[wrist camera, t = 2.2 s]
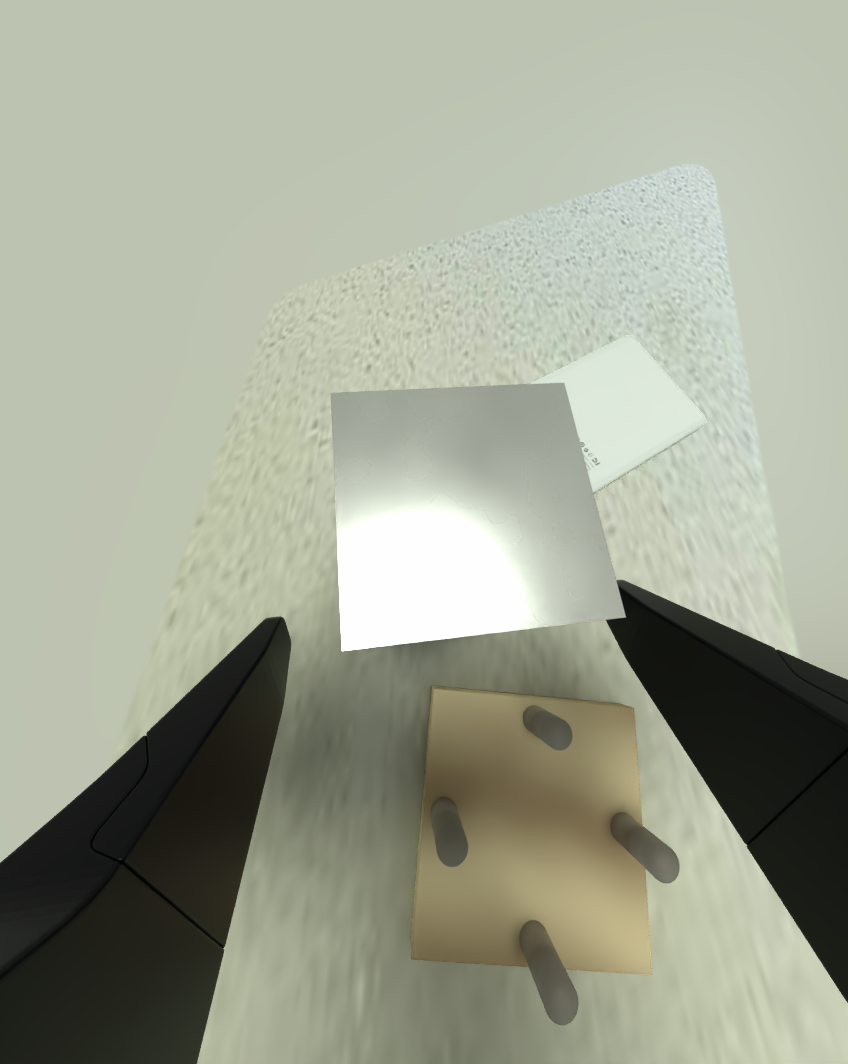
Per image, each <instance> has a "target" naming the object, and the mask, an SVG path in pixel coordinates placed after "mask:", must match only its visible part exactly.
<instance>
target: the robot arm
mask: <svg viewBox="0 0 848 1064" xmlns="http://www.w3.org/2000/svg"><path fill="white" fill-rule="evenodd" d="M616 581H617V585H618V589H619V593H620V597H621V600H622V604H623V608H624V612H625V616H626V617H625V618H616V619H608V620H606V621H607V623H608V625H609V627H610V629H611V631H612V633H613V635H614V637H615V639H616V641H617V643H618V645H619V647H620V649H621V650H622V652H623V654H624V656H625V658H626V659H627V661H628V663H629V664H630V666H631V668H632V669H633V671H634V672H635V674H636V675H637V677H638V678H639V680H640V682H641V683H642V685H643V686H644V688H645V689H646V691H647V692H648V694H649V696H650V697H651V699H652V700H653V702H654V703H655V705H656V706H657V708H658V709H659V711H660V713H661V714H662V716H663V717H664V719H665V720H666V722H667V723H668V725H669V727H670V728H671V730H672V731H673V733H674V734H675V736H676V737H677V739H678V740H679V742H680V744H681V745H682V747H683V748H684V750H685V751H686V753H687V754H688V756H689V758H690V759H691V761H692V762H693V764H694V765H695V767H696V768H697V770H698V772H699V773H700V775H701V776H702V778H703V779H704V781H705V782H706V784H707V785H708V787H709V789H710V790H711V792H712V793H713V795H714V796H715V798H716V799H717V801H718V803H719V804H720V806H721V807H722V809H723V810H724V812H725V813H726V815H727V817H728V818H729V820H730V821H731V823H732V824H733V826H734V827H735V829H736V830H737V832H738V834H739V835H740V837H741V838H742V840H743V841H744V843H745V844H747V848H748V850H749V851H750V853H751V854H752V856H753V857H754V859H755V860H756V862H757V863H758V865H759V867H760V868H761V870H762V871H763V873H764V874H765V876H766V877H767V879H768V881H769V882H770V884H771V885H772V887H773V888H774V890H775V891H776V893H777V895H778V896H779V898H780V899H781V901H782V902H783V904H784V905H785V907H786V908H787V910H788V912H789V913H790V915H791V916H792V918H793V919H794V921H795V922H796V924H797V926H798V927H799V929H800V930H801V932H802V933H803V935H804V936H805V938H806V940H807V941H808V943H809V944H810V946H811V947H812V949H813V950H814V952H815V954H816V955H817V957H818V958H819V960H820V961H821V963H822V964H823V966H824V968H825V969H826V971H827V972H828V974H829V975H830V977H831V978H832V980H833V981H834V983H835V985H836V986H837V988H838V989H839V991H840V992H841V994H842V995H843V997H844V998H845V1000H846V1001H847V1002H848V680H847V679H845V678H842V677H840V676H837V675H835V674H832V673H830V672H828V671H825V670H823V669H821V668H818V667H816V666H814V665H811V664H809V663H807V662H805V661H803V660H800V659H798V658H796V657H794V656H791V655H789V654H787V653H785V652H782V651H780V650H775V648H773V647H771V646H769V645H767V644H765V643H762V642H760V641H758V640H756V639H753V638H751V637H749V636H747V635H744V634H742V633H740V632H738V631H736V630H733V629H731V628H729V627H727V626H724V625H722V624H720V623H718V622H716V621H713V620H711V619H709V618H707V617H704V616H702V615H700V614H698V613H696V612H693V611H691V610H689V609H687V608H684V607H682V606H680V605H678V604H676V603H673V602H671V601H669V600H667V599H664V598H662V597H660V596H658V595H656V594H653V593H651V592H649V591H647V590H644V589H642V588H640V587H638V586H636V585H633V584H631V583H629V582H627V581H624V580H616ZM290 651H291V639H290V636H289V632H288V629H287V626H286V623H285V620H284V618H283V617H270V618H266V619H265V620H263V621H262V622H261V623H260V624H259V625H258V626H257V627H256V628H255V629H254V630H253V631H252V632H251V633H250V634H249V635H248V636H247V637H246V638H245V639H244V640H243V641H242V642H241V643H240V644H239V645H237V646H236V647H235V648H234V649H233V650H232V651H231V652H230V653H229V654H228V655H227V656H226V657H225V658H224V659H223V660H222V661H221V662H220V663H219V664H218V665H217V666H216V667H215V668H214V669H212V670H211V671H210V672H209V673H208V674H207V675H206V676H205V677H204V678H203V679H202V680H201V681H200V682H199V683H198V684H197V685H196V686H195V687H194V688H193V689H192V690H191V691H190V692H189V693H187V694H186V695H185V696H184V697H183V698H182V699H181V700H180V701H179V702H178V703H177V704H176V705H175V706H174V707H173V708H172V709H171V710H170V711H169V712H168V713H167V714H166V715H165V716H164V717H162V718H161V719H160V720H159V721H158V722H157V723H156V724H155V725H154V726H153V727H152V728H151V729H150V730H149V731H148V732H147V736H143V737H142V738H140V739H139V740H138V741H137V742H136V743H135V744H134V745H133V746H132V747H131V748H130V749H129V750H128V751H127V752H126V753H125V754H124V755H123V756H122V757H121V758H119V759H118V760H117V761H116V762H115V763H114V764H113V765H112V766H111V767H110V768H109V769H108V770H107V771H105V772H104V773H103V774H102V775H101V776H100V777H99V778H98V779H97V780H96V781H95V782H93V783H92V784H91V785H90V786H89V787H88V788H87V789H85V790H84V791H83V792H82V793H81V794H80V795H79V796H77V797H76V798H75V799H74V800H73V801H72V802H71V803H70V804H68V805H67V806H66V807H65V808H64V809H63V810H61V811H60V812H59V813H58V814H57V815H56V816H54V817H53V818H52V819H51V820H50V821H49V822H47V823H46V824H45V825H44V826H43V827H42V828H40V829H39V830H38V831H37V832H36V833H35V834H33V835H32V836H31V837H30V838H29V839H28V840H26V841H25V842H24V843H23V844H22V845H21V846H19V847H18V848H17V849H16V850H15V851H14V852H13V853H11V854H10V855H9V856H8V857H7V858H6V859H4V860H3V861H2V862H1V863H0V1064H197V1061H198V1057H199V1053H200V1048H201V1044H202V1040H203V1036H204V1032H205V1028H206V1024H207V1020H208V1015H209V1011H210V1007H211V1003H212V999H213V995H214V991H215V987H216V982H217V978H218V974H219V970H220V966H221V962H222V958H223V954H224V949H223V948H224V947H225V944H226V940H227V936H228V932H229V928H230V924H231V920H232V916H233V912H234V907H235V903H236V899H237V895H238V891H239V887H240V883H241V879H242V874H243V870H244V866H245V862H246V858H247V854H248V850H249V846H250V842H251V837H252V833H253V829H254V825H255V821H256V817H257V813H258V809H259V804H260V800H261V796H262V792H263V788H264V784H265V780H266V776H267V772H268V767H269V763H270V759H271V755H272V751H273V747H274V743H275V739H276V734H277V730H278V726H279V722H280V718H281V714H282V709H283V705H284V698H285V691H286V683H287V675H288V667H289V659H290Z"/></svg>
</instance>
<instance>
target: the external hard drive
mask: <svg viewBox="0 0 848 1064" xmlns="http://www.w3.org/2000/svg"><path fill="white" fill-rule="evenodd" d="M542 383H565V387H566V391H567V395H568V398H569V402H570V406H571V410H572V414H573V418H574V421H575V425H576V429H577V433H578V437H579V440H580V444H581V448H582V452H583V456H584V459H585V463H586V467H587V471H588V475H589V478H590V482H591V486H592V490H593V493H595V492H596V491H598V490H600V489H601V488H603V487H604V486H606V485H608V484H609V483H611V482H613V481H614V480H616V479H618V478H619V477H621V476H623V475H624V474H626V473H627V472H629V471H631V470H632V469H634V468H636V467H637V466H639V465H640V464H642V463H644V462H645V461H647V460H649V459H650V458H652V457H654V456H655V455H657V454H658V453H660V452H662V451H663V450H665V449H667V448H668V447H670V446H671V445H673V444H675V443H676V442H678V441H680V440H681V439H683V438H684V437H686V436H688V435H689V434H691V433H692V432H694V431H696V430H697V429H699V428H700V427H702V426H703V425H705V424H706V422H707V420H706V417H705V415H704V414H703V413H702V412H701V411H700V409H699V408H698V407H697V406H696V405H695V404H694V403H693V402H692V401H691V399H690V398H689V397H688V396H687V395H686V394H685V393H684V392H683V391H682V390H681V388H680V387H679V386H678V385H677V384H676V383H675V382H674V381H673V380H672V378H671V377H670V376H669V375H668V374H667V373H666V372H665V371H664V370H663V368H662V367H661V366H660V365H659V364H658V363H657V362H656V361H655V359H654V358H653V357H652V356H651V355H650V354H649V353H648V352H647V351H646V350H645V348H644V347H643V346H642V345H641V344H640V343H639V342H638V341H637V340H636V339H635V338H634V337H633V336H631V335H630V334H627V335H625V336H623V337H621V338H619V339H617V340H615V341H613V342H611V343H609V344H607V345H605V346H603V347H601V348H599V349H597V350H595V351H593V352H592V353H590V354H588V355H586V356H584V357H582V358H580V359H578V360H576V361H574V362H572V363H570V364H568V365H566V366H564V367H562V368H560V369H558V370H556V371H554V372H552V373H550V374H548V375H546V376H544V377H542V378H540V379H538V380H536V381H534V382H532V383H530V384H542Z"/></svg>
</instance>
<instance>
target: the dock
mask: <svg viewBox="0 0 848 1064" xmlns="http://www.w3.org/2000/svg"><path fill="white" fill-rule="evenodd" d="M645 868H646V869H647V870H648V871H649V872H650V873H651V874H652V875H653V876H654V877H655V878H656V879H657V880H659V881H660V882H662V883H671V882H673V881H674V880H675V879H676V878H677V876H678V873H679V861H678V858H677V856H676V854H675V852H674V851H673V850H672V849H671V848H670V847H669V846H667V845H666V844H665V843H664V842H662V841H661V840H660V839H658V838H657V837H656V836H655V835H653V834H652V833H651V832H650V831H648V830H647V829H646V828H645V827H643V826H642V817H641V802H640V788H639V773H638V759H637V744H636V730H635V715H634V708H632V707H629V706H626V705H622V704H615V703H604V702H594V701H584V700H574V699H563V698H553V697H543V696H533V695H522V694H512V693H502V692H491V691H481V690H471V689H461V688H450V687H440V686H432V692H431V703H430V715H429V727H428V739H427V750H426V762H425V774H424V786H423V797H422V809H421V821H420V833H419V844H418V856H417V868H416V880H415V891H414V903H413V915H412V927H411V959H413V960H429V961H444V962H460V963H475V964H491V965H506V966H522V967H529V968H530V971H531V973H532V976H533V979H534V981H535V984H536V986H537V989H538V992H539V994H540V997H541V999H542V1002H543V1004H544V1007H545V1010H546V1012H547V1014H548V1016H549V1018H550V1019H551V1020H552V1021H553V1022H554V1023H556V1024H559V1025H566V1024H568V1023H570V1022H571V1021H572V1020H573V1019H574V1017H575V1016H576V1013H577V1010H578V996H577V993H576V990H575V988H574V986H573V984H572V982H571V980H570V978H569V976H568V974H567V972H566V970H565V969H568V970H584V971H599V972H614V973H630V974H645V975H652V963H651V948H650V934H649V919H648V904H647V890H646V875H645Z"/></svg>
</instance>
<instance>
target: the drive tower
mask: <svg viewBox="0 0 848 1064" xmlns="http://www.w3.org/2000/svg"><path fill="white" fill-rule="evenodd" d="M331 410H332V433H333V457H334V480H335V503H336V527H337V550H338V573H339V596H340V620H341V643H342V651H346V650H355V649H363V648H372V647H380V646H389V645H397V644H405V643H414V642H422V641H431V640H439V639H448V638H456V637H464V636H473V635H481V634H490V633H498V632H507V631H515V630H524V629H532V628H540V627H549V626H557V625H566V624H574V623H583V622H591V621H599V620H608V619H616V618H625V617H626V616H625V612H624V608H623V604H622V600H621V597H620V593H619V589H618V585H617V581H616V577H615V574H614V570H613V566H612V562H611V558H610V555H609V551H608V547H607V543H606V539H605V536H604V532H603V528H602V524H601V520H600V517H599V513H598V509H597V505H596V501H595V497H594V494H593V490H592V486H591V482H590V478H589V475H588V471H587V467H586V463H585V459H584V456H583V452H582V448H581V444H580V440H579V437H578V433H577V429H576V425H575V421H574V418H573V414H572V410H571V406H570V402H569V398H568V395H567V391H566V387H565V383H542V384H520V385H498V386H476V387H454V388H432V389H409V390H387V391H365V392H343V393H331Z"/></svg>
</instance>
